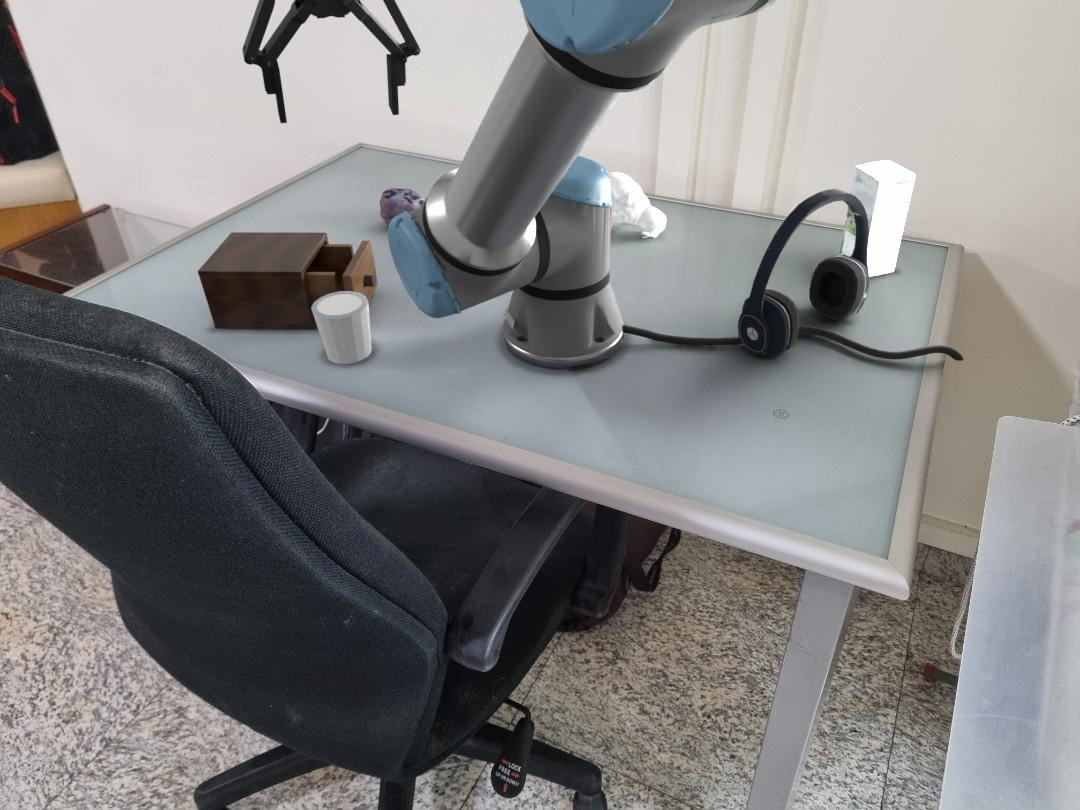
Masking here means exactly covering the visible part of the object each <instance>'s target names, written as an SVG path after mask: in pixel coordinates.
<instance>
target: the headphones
mask: <svg viewBox="0 0 1080 810" xmlns="http://www.w3.org/2000/svg"><path fill="white" fill-rule="evenodd" d="M842 201H843V202H844V203H845V204H846V205H847V207H848V206H849V207H850V209H851V211H852V213H853V215H854V219H855V226H856V238H855V247H854V250H853V253H852V255H851V256H846V255H839V254H835V255H832V256H829V257H827V258H825V259H823V260H822V261H820V262H819V263H818V264H817V266H816V267H815V269H814V271H813V274H812V276H811V280H810V285H809V291H808V292H809V297H808V298H809V302H810V304H811V306H812V308H813V309H814V310H815V311H816V312H817V313H818V314H820V315H822V316H823V317H825V318H828V319H831V320H837V321H839V320H840V321H841V320H845V319H848V318H851V317H853V316H854V315H856V314H858V313H859V312H860V310H862V308H863V306H864V303H865V301H866V299H867V296H868V292H869V287H870V277H869V270H868V262H867V254H868V241H869V225H868V219H867V214H866V211H865V208H864V206H863V204H862V203H861V201H860V200H859V199H858V198H857V197H856V196H854V195H852V194H851V192H850V193H849V192H846V191H843V190H840V189H838V188H831V189H825V190H822V191H819V192H817V193H815V194H813V195H810V196H809V197H807V198H806V199H804V200H803V201H802V202H800V203H798V205H796V207H794V209H792V210H791V212H790V213H789V214H788V215H787V216H786V218H785V219H784V221H783V222H782V223H781V225H780V227H778V229H777V230H776V232H775V234H774V235H773V237H772V239H771V240H770V242H769V244H768V247H767V249H766V251H765V253H764V255H763V257H762V259H761V261H760V264H759V265H758V268H757V271H756V274H755V276H754V279H753V282H752V286H751V289H750V293H749V296H748V297H747V298H746V299H745V300H744V302H743V304H742V307H741V313H740V315H739V318H738V324H737V334H738V337H739V339H740V341H741V343H742V344H741V345H742V346H743V347H744V348H745V349H746V350H748V351H750V352H751V353H754V354H755V355H765V356H768V357H772V358H776V357H779V356H780V355H782V354H784V353H785V352H786V351H788V350H790V349H791V348H792V347H793V346H794V345H795V343H796V342H797V339H798V336H799V334H798V331H799V326H800V314H799V309H798V307H797V306H796V304H795V302H794V300H792V299H791V298H790V297H789V296H787V295H786V294H785V293H783V292H780V291H778V290H775V289H772V288H767V286H768V283H769V281H770V278H771V276H772V273H773V271H774V268H775V266H776V264H777V261H778V260H779V257H780V255H781V254H782V252H783V250H784V248H785V247H786V246H787V244H788V242H789V240H790V239H791V237H792V236H793V235H794V234H795V232H796V231H797V230H798V228H799V227H800V225H801V224H802V223H803V222H804V221H805V220H806V219H807V218H808V217H809V216H810V215H811V214H813V213H815V212H816V211H817V210H818V209H821V208H823V207H824V206H827V205H829V204H831V203H835V202H842Z"/></svg>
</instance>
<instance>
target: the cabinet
mask: <svg viewBox="0 0 1080 810" xmlns="http://www.w3.org/2000/svg"><path fill="white" fill-rule="evenodd" d="M329 242H330V241H329V237H328V233H327V232H296V231H295V232H291V231H290V232H287V231H286V232H284V231H283V232H282V231H281V232H273V231H272V232H271V231H270V232H269V231H268V232H264V231H263V232H257V231H256V232H253V231H251V232H248V231H247V232H245V231H244V232H241V231H240V232H239V231H238V232H233V231H232V232H230V233H229V234H228V236H227V237H226V238H225V239H224V240H223V241H222V242H221V244H220V245H219V246H218V247H217V248H216V250H214V251H213V253H212V254H211V255H210V256H209V258H207V260H206V261H205V262H204V263H203V264H202V265H201V267H200V268H199V269H198V270H197V275H198V277H199V280H200V284H201V286H202V289H203V293H204V296H205V300H206V303H207V306H208V309H209V312H210V315H211V319H212V321H213V322H212V323H213V325H214V329H217V330H218V329H219V330H293V331H295V330H297V331H299V330H301V331H314V330H315V329H316V327H317V324H316V321H315V318H314V317H313V314H312V309H311V305H310V301H309V296H308V292H307V287H306V283H305V278H304V273H305V272H306V270H307V269H308V267H309V266H310V264H311V262H312V261H313V259H314V258H315V256H316V255H317V253H318V252H319V250H320V249H321V247H322V245H323V244H330V243H329Z"/></svg>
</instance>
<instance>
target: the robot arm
mask: <svg viewBox="0 0 1080 810" xmlns="http://www.w3.org/2000/svg"><path fill="white" fill-rule="evenodd" d="M382 1H383V3H384V5H385V7H386V9H387V11H388V13H389V14H390V16H391V18H392V20H393V22H394V24H395V26H396V27H397V30H398V31H399V33H400V35H401V37H402V39H403V41H404V42H401V43H399V41H397V39H396V38H395V37H394V36H393V35H392V34H391V33H390V31H389V30H387V28H386V27H385V26H384V25H383V24H382V23H381V21H380V20H379V19H378V18H377V17H376V16H375V15H374V14H373V13H372V12H371V11H370V10H369V8H368V7H367V6H366V5H365V4H364V2H363V1H362V0H293V2H292V3H291V5H290V8H289V10H288V12H287V13H286V14H285V15H284V17H283V19H282V20H281V21H280V22H279V25H278V26H277V27H276V28H275V30H274V31H273V33H272V34H271V36H270V37H269V38H268V39H267V42H266V43H265V44H264V46H263V48H262V49H260V48H261V45H262V42H263V40H264V38H265V34H266V31H267V28H268V25H269V23H270V20H271V17H272V15H273V11H274V10H275V9H274V8H275V5H276V0H258V2H257V4H256V8H255V10H254V14H253V17H252V20H251V22H250V24H249V25H250V26H249V28H248V31H247V34H246V37H245V39H244V43H243V45H242V46H243V47H242V49H241V52H242V57H243V61H244V63H245V64H247V65H249V66H250V65H256V66H258V67H260V69H261V72H262V74H261V75H262V80H263V86H264V91H265V92H266V94H267V95H275V100H276V108H277V113H278V118H279V122H280V124H287V123H288V120H287V112H286V106H285V99H284V93H283V85H282V77H281V70H280V66H279V62H278V59H279V58H280V56H281V55H282V53H283V52H284V50H285V49H286V47H287V46H288V45H289V44H290V42H291V41H292V39H293V38H294V36H295V35H296V34H297V32H298V30H299V29H300V28H301V26H302V25H304V24H305V23H306V22H307V21H308V19H309V18H310V16H312V17H313V16H314V17H316V18H317V19H326V18H329V17H334V18H339V19H340V18H341V19H342V18H346V16H348V15H349V14H350V13H351V14H352V15H353V16H355V18H356V19H357V20H358V21H359V22H361V23H362V24H363V26H364V27H366V29H367V30H368V31H369V32H370V33H371V34H372V35H373V36H374V37H375V39H376V40H378V42H380V44H381V45H382V46H383V47H384V48H385V49H386V51H388V53H386V54H385V55H386V56H385V57H386V72H387V73H386V75H387V94H388V95H387V97H388V107H389V109H390V112H391V114H392V116H399V115H400V107H399V106H400V105H399V87H405V86H406V84H407V70H406V64H407V63H408V58H409V57H413V56H414V57H415V56H419V55H420V54H421V51H422V50H421V48H420V46H419V44H418V41H417V40H416V38H415V36H414V34H413V32H412V30H411V28H410V26H409V24H408V22H407V21H406V18H405V17H404V15H403V13H402V11H401V9H400V7H399V6H398V3H397V1H396V0H382ZM780 1H781V0H519V4H520V6H521V8H522V13H523V18H524V21H525V24H526V27H527V29H526V32H524V33H525V34H524V35H523V37H522V40H521V41H520V44H519V46H518V48H516V49H517V50H516V52H515V54H514V56H513V58H512V60H511V62H510V64H509V66H508V68H507V69H506V72H505V74H504V76H503V78H502V80H501V82H500V84H499V86H498V88H497V90H496V92H495V94H494V95H493V98H492V100H491V102H490V104H489V106H488V108H487V109H486V112H485V114H484V116H483V118H482V120H481V122H480V124H479V126H478V128H477V130H476V132H475V134H474V136H473V139H472V141H471V142H470V144H469V146H468V148H467V150H466V152H465V154H464V156H463V159H462V160H461V163H460V165H459V166H458V168H455V169H452V170H450V171H447V172H446V173H445V174H443V175H442V176H440V177H439V178H438V179H437V180H436V182H435V183H434V184H433V185H432V187H431V188H430V190H429V192H428V194H427V196H426V198H425V199H424V200H425V202H424V205H423V206H422V207H420V208H418V209H416V210H413V211H410V212H408V211H404V212H403V213H402V214H400V215H398V216H396V217H394V218H393V219H392V220H391V221H390V224H389V226H388V228H387V239H388V247H389V251H390V255H391V258H392V261H393V264H394V266H395V269H396V272H397V274H398V277H399V279H400V281H401V283H402V285H403V287H404V289H405V290H406V292H407V294H408V295H409V297H410V298H411V300H412V302H413V303H414V305H416V306H417V308H418V309H419V310H421V311H422V312H423V314H425V315H426V316H428V317H431V318H433V319H442V318H445V317H449V316H452V315H459V314H461V313H462V312H463V311H465V310H467V309H470V308H472V307H475V306H477V305H480V304H483V303H485V302H488V301H491V300H492V299H495V298H497V297H500V296H502V295H506V294H508V293H510V292H512V294H511V297H510V301H509V304H508V307H507V308H505V311H504V314H503V317H504V321H503V326H502V330H503V331H502V333H503V343H504V347H505V348H506V350H507V351H508V352H509V354H510V355H511V356H512V357H514V358H515V359H516V360H518V361H520V362H522V363H524V364H527V365H529V366H533V367H535V368H539V369H540V368H541V369H547V370H554V371H555V370H557V371H562V370H563V371H564V370H566V371H567V370H577V369H583V368H586V367H591V366H594V365H597V364H600V363H602V362H604V361H606V360H607V359H609V358H611V357H613V356H614V355H615V354H616V353H617V352H618V351H619V349H620V348H621V347H622V344H623V342H624V333H625V334H628V335H634V336H638V337H643V338H645V339H650V340H652V341H655V342H656V341H657V342H661V343H667V344H675V345H686V346H704V347H705V346H707V347H708V346H709V347H710V346H715V347H716V346H737V345H742V343H741V341H740V339H739V336H729V337H691V336H681V335H672V334H664V333H659V332H655V331H652V330H648V329H645V328H640V327H635V326H631V325H628V324H627V325H626V324H624V320H623V316H622V313H621V311H620V308H619V306H618V303H617V299H616V296H615V294H614V291H613V288H612V285H611V276H610V275H611V240H612V239H611V237H612V228H611V209H612V205H613V201H612V200H611V186H610V177H609V174H608V173H609V171H607V169H606V168H605V167H604V166H603V165H601V164H600V163H599V162H597V161H595V160H593V159H590V158H588V157H585V156H581V155H580V154H581V152H582V150H583V149H584V147H586V145H587V143H588V142H589V140H590V139H591V137H592V136H593V135H594V133H595V132H596V130H597V129H598V128H599V126H600V125H601V123H602V122H603V120H604V119H605V118H606V116H607V115H608V113H609V112H610V111H611V109H612V108H613V107H614V105H615V104H616V102H617V101H618V99H619V98H620V96H621V95H622V93H631V92H637V91H640V90H642V89H644V88H647V87H648V86H650V85H651V84H652V83H654V82H655V81H656V80H657V79H658V78H659V77H660V76H661V75H662V73H663V72H664V70H665V69H666V68H667V66H668V65H669V64H670V62H671V61H672V59H674V57H675V56H676V54H677V53H678V51H680V49H681V48H682V46H683V45H684V44H685V42H686V41H687V40H688V38H689V37H690V36H691V35H692V34H693V33H695V32H696V31H697V30H699V29H701V28H702V27H704V26H709V25H712V24H717V23H722V22H725V21H729V20H732V19H736V18H741V17H744V16H748V15H749V16H750V15H752V14H756V13H759V12H761V11H764V10H765V9H768V8H770V7H772V6H774V5H775V4H777V3H778V2H780ZM800 334H801V335H803V334H804V335H812V336H819V337H822V338H826V339H829V340H832V341H834V342H836V343H839V344H841V345H843V346H845V347H847V348H849V349H852V350H854V351H856V352H858V353H862V354H865V355H867V356H871V357H874V358H879V359H886V360H904V359H905V360H906V359H913V358H916V357H921V356H927V355H931V354H943V355H947V356H949V357H950V358H951V359H953V360H954V361H958V362H961V361H964V357H963V355H962V354H961V353H960V352H959V351H958V350H956V349H955V348H953V347H950V346H947V345H943V344H933V345H932V344H931V345H926V346H921V347H916V348H912V349H907V350H898V351H897V350H896V351H895V350H893V351H892V350H885V349H879V348H875V347H871V346H868V345H866V344H863V343H861V342H858V341H855V340H854V339H851V338H849V337H846V336H844V335H843V334H841V333H838V332H834V331H832V330H829V329H826V328H821V327H816V326H809V325H799V331H798V335H800Z"/></svg>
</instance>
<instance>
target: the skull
mask: <svg viewBox="0 0 1080 810" xmlns="http://www.w3.org/2000/svg"><path fill="white" fill-rule="evenodd" d="M425 200H426V199H424V198H422V197H421V196H420V195H419V194H418V193H417V191H416V190H414V189H412V188H409V187H405V188H393V187H389V188H386V189H385V190H383V191H382V193H381V197H380V200H379V207H380V212H379V217H380V218H381V219H382V221H383V222H384V223H385V225H386V226H387V227H389V224H390V221H391V220H392V219H393V218H394V217H396V216H398V215H400V214H402V213H403V212H404V211H408V212H410V211H413V210H416V209H418V208H420V207H422V206H423V205H424V202H425Z"/></svg>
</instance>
